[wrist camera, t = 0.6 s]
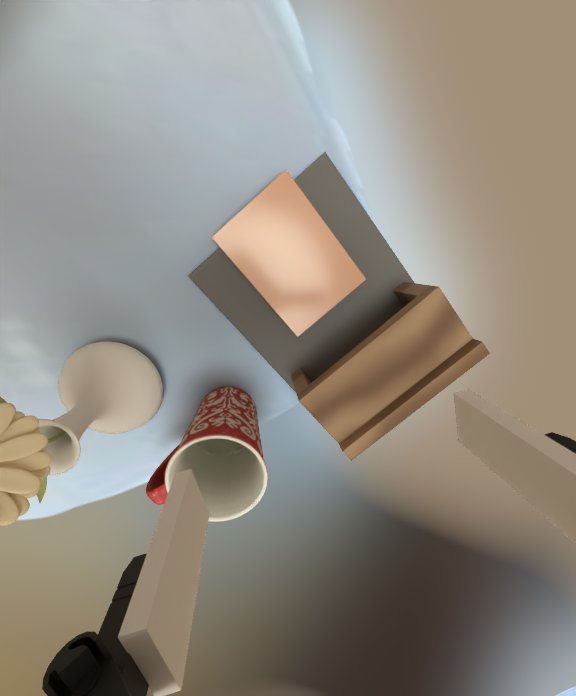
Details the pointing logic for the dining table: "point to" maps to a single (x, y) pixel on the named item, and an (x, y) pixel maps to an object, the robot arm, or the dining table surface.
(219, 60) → the dining table surface
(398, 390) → the grooved wooden block
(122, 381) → the flower in vase
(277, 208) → the tile
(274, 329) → the mat
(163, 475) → the mug
